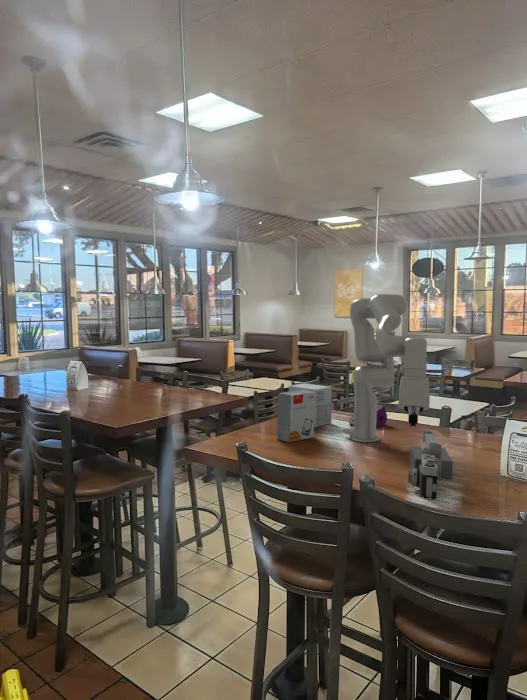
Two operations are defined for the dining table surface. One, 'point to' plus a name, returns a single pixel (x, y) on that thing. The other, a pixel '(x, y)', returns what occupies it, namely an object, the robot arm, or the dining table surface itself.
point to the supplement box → (318, 401)
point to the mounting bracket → (380, 418)
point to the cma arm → (432, 444)
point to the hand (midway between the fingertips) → (412, 425)
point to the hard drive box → (295, 415)
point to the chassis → (442, 462)
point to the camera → (425, 476)
